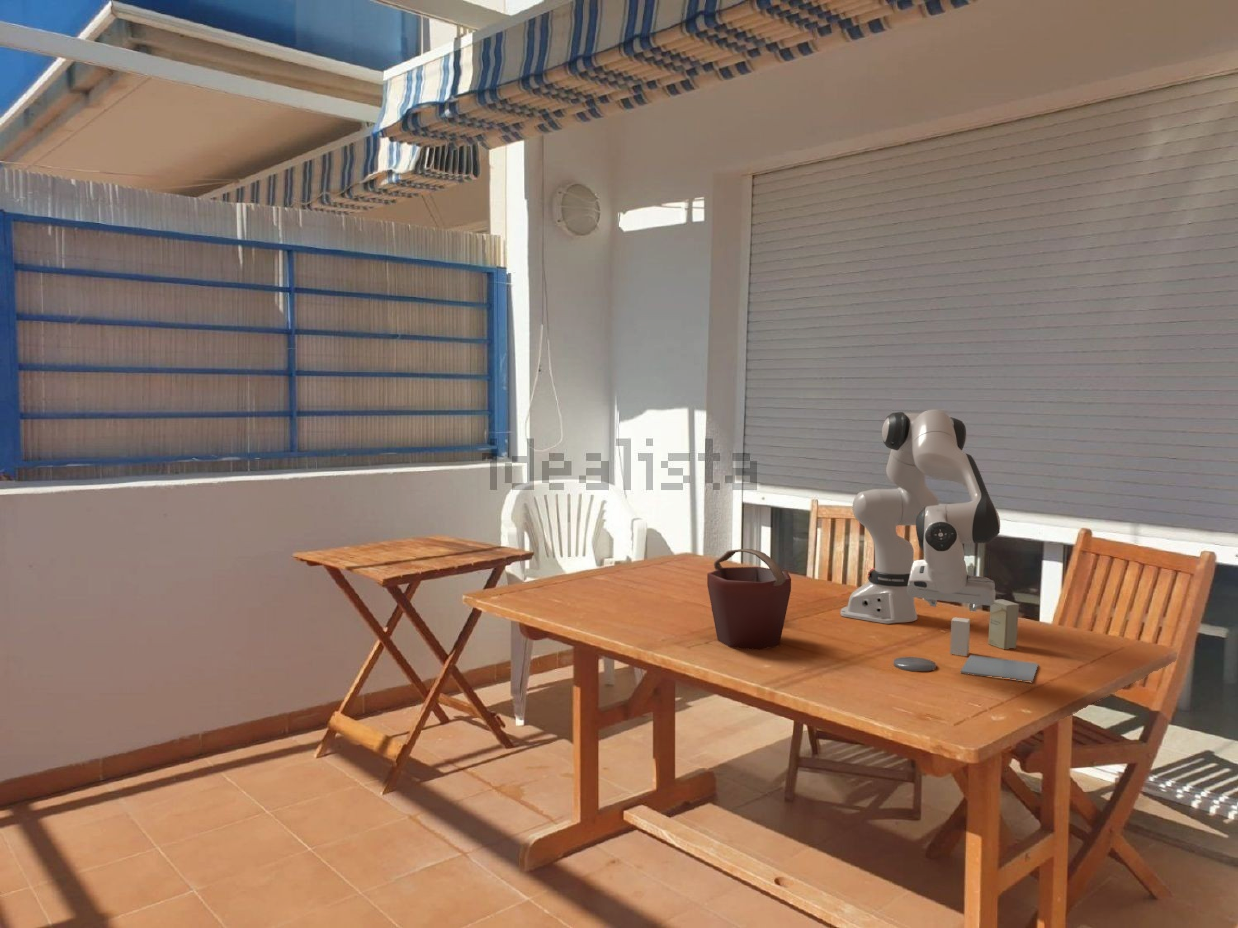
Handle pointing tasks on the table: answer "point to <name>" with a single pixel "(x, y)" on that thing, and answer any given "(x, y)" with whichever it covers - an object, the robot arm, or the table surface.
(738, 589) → the bucket
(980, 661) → the tile
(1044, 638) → the table surface
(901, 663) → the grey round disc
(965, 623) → the block
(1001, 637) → the skincare box
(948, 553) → the robot arm
